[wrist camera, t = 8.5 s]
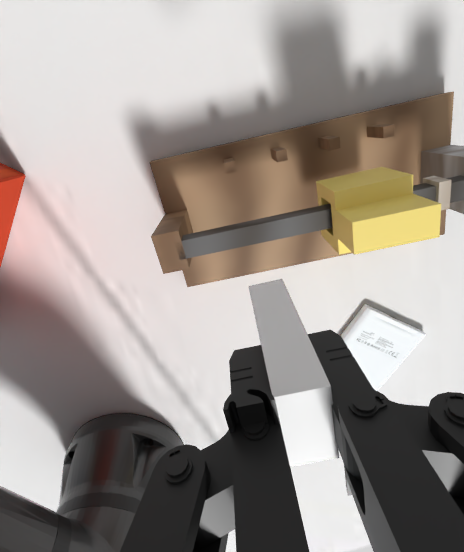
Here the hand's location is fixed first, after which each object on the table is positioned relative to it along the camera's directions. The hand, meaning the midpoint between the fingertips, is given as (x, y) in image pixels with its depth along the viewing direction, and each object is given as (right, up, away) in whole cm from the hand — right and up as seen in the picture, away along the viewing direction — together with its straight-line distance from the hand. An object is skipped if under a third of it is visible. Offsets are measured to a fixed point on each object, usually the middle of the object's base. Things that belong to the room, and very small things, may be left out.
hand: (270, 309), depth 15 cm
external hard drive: (+13, -8, +24) cm, 29 cm away
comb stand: (+5, +9, +15) cm, 18 cm away
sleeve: (+8, +7, +11) cm, 15 cm away
